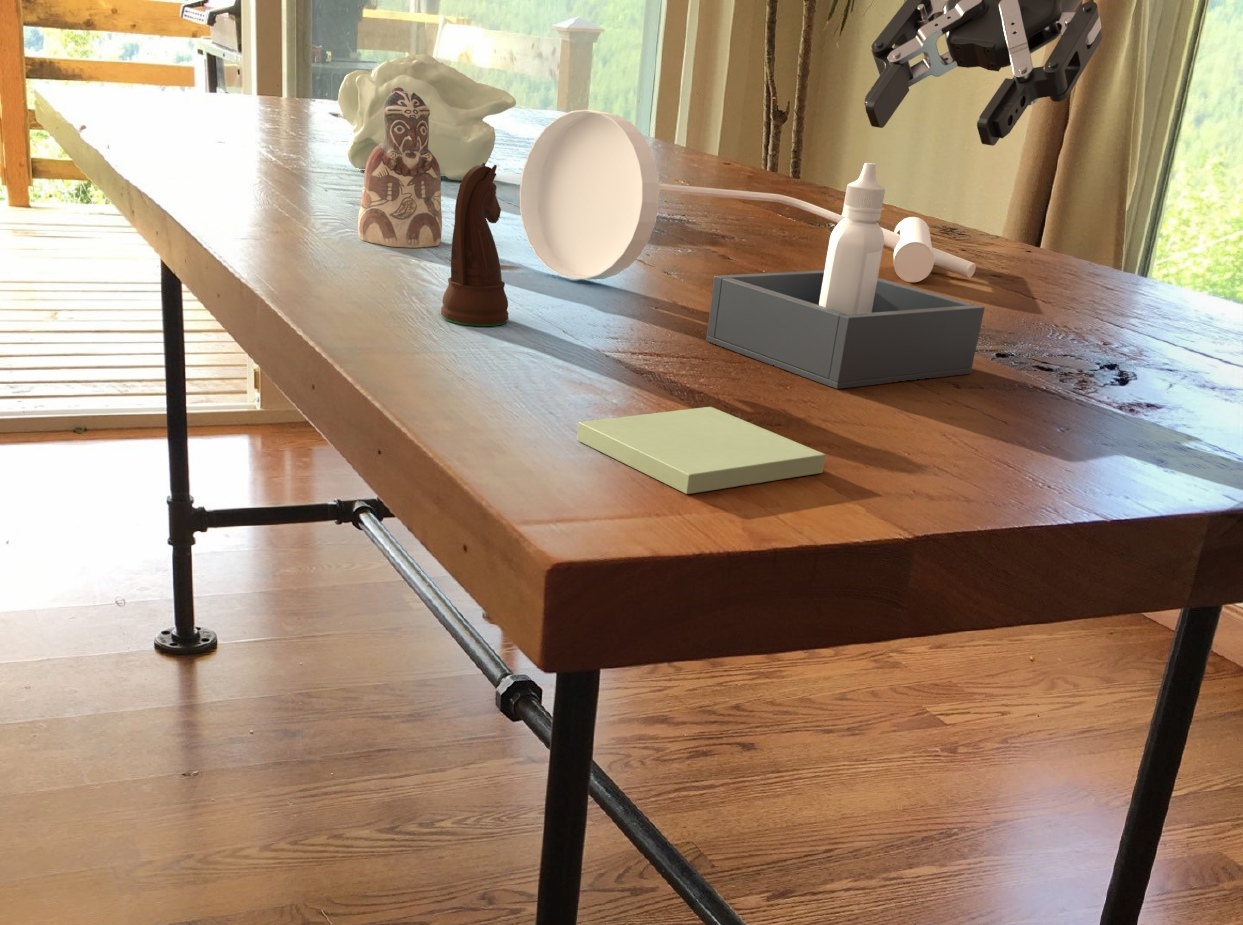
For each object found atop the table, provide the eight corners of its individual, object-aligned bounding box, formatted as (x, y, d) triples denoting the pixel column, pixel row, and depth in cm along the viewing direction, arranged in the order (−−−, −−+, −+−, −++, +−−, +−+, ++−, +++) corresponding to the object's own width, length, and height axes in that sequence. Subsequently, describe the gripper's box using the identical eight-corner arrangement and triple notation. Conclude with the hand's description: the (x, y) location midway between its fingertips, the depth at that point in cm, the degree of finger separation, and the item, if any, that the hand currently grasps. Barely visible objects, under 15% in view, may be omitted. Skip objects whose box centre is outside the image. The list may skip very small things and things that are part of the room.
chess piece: (520, 319, 98) (531, 167, 93) (481, 331, 94) (490, 172, 89) (464, 308, 100) (472, 158, 95) (423, 318, 96) (429, 162, 91)
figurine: (361, 245, 118) (364, 90, 113) (354, 230, 124) (357, 82, 119) (446, 249, 120) (453, 96, 114) (435, 234, 126) (441, 88, 121)
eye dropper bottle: (889, 355, 96) (924, 168, 91) (837, 363, 92) (870, 169, 87) (838, 340, 99) (869, 158, 93) (786, 347, 95) (815, 158, 90)
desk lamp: (771, 178, 98) (1036, 205, 131) (541, 90, 110) (838, 135, 142) (717, 350, 104) (984, 334, 137) (504, 249, 115) (798, 257, 148)
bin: (970, 373, 95) (985, 307, 93) (836, 389, 88) (849, 317, 86) (836, 330, 104) (847, 268, 102) (705, 341, 97) (714, 275, 95)
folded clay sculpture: (458, 233, 167) (522, 111, 165) (453, 220, 155) (522, 87, 152) (322, 154, 165) (384, 30, 163) (305, 134, 152) (372, -1, 150)
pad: (823, 473, 72) (826, 454, 71) (686, 494, 67) (689, 474, 67) (708, 423, 78) (710, 406, 78) (576, 440, 73) (578, 421, 73)
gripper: (947, -107, 97) (821, 70, 95) (1146, -101, 88) (1013, 95, 86) (971, -16, 103) (853, 153, 100) (1159, -2, 94) (1035, 184, 92)
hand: (927, 126), depth 93 cm, fingers open, 8 cm apart
